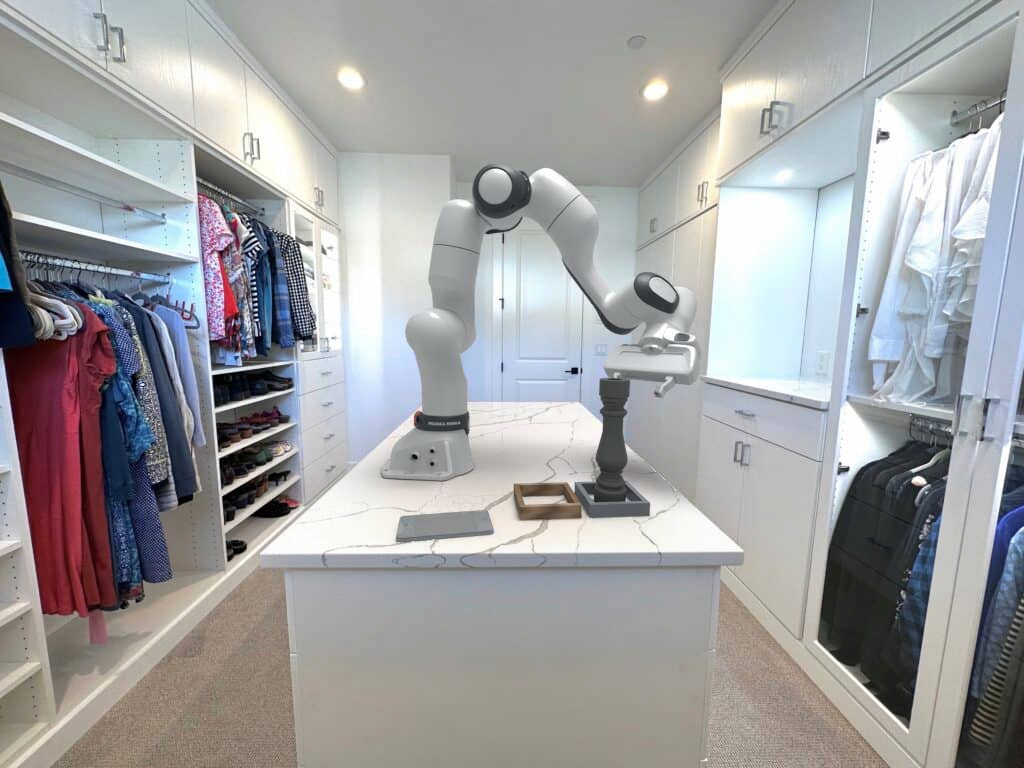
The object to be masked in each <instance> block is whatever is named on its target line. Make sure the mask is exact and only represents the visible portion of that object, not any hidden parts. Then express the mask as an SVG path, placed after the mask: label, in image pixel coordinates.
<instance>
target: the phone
mask: <svg viewBox="0 0 1024 768" xmlns="http://www.w3.org/2000/svg"><path fill="white" fill-rule="evenodd" d="M494 534H495V529H494V525H493V523H492V519H491V515H490V512H489V510H487V509H479V510H465V511H449V512H438V513H426V514H425V513H423V514H422V513H421V514H409V515H402V516H400V518H399V521H398V527H397V532H396V542H397V543H398V542H400V544H401V543H402V542H404V543H412V542H411V541H415V542H416V541H418V542H428V541H433V540H432V539H438V540H448V539H449V538H450V539H458V538H459V539H460V538H472V537H482V536H491V535H494ZM427 540H428V541H427ZM409 541H410V542H409Z"/></svg>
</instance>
